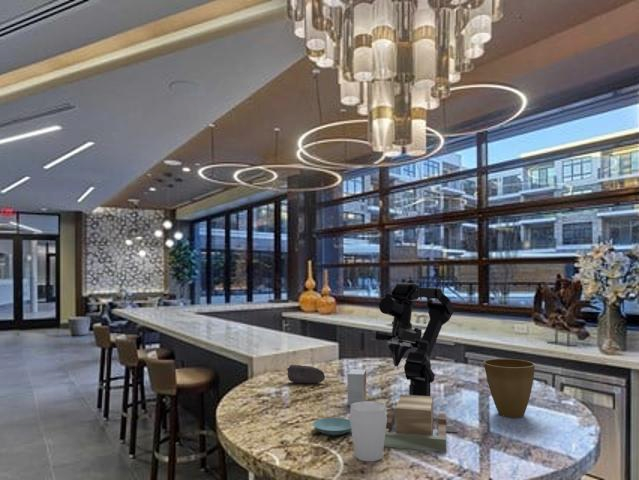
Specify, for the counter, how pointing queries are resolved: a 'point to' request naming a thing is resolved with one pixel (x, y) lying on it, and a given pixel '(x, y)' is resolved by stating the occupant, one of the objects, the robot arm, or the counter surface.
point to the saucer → (333, 426)
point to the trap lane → (418, 436)
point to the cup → (368, 429)
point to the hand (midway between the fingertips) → (396, 366)
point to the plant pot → (510, 385)
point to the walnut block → (414, 415)
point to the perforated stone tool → (305, 374)
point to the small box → (356, 386)
